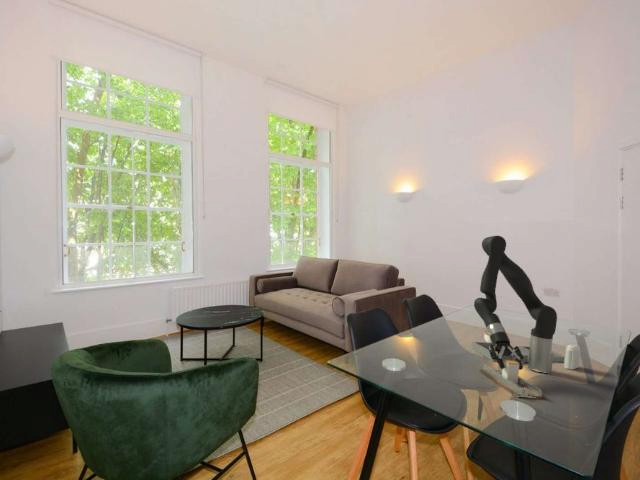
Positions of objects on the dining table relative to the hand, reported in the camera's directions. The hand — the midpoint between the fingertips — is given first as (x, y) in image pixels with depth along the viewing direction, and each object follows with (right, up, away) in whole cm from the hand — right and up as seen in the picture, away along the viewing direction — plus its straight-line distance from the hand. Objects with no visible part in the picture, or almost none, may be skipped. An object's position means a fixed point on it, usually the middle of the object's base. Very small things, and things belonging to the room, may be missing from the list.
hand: (512, 368), depth 145 cm
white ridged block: (+49, -12, +30) cm, 59 cm away
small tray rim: (+44, -11, +46) cm, 64 cm away
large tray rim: (+16, -8, +41) cm, 45 cm away
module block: (-1, -6, +1) cm, 6 cm away
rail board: (-1, -7, +1) cm, 7 cm away
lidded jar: (+23, -9, +60) cm, 65 cm away
